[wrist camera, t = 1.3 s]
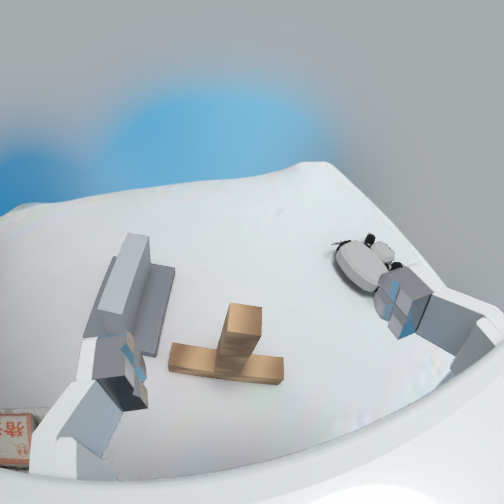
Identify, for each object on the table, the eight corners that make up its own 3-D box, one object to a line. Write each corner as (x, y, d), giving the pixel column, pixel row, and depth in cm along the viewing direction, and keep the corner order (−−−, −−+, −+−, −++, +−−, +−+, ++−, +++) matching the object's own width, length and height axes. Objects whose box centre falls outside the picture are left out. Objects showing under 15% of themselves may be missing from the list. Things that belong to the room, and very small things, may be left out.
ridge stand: (85, 340, 33) (67, 309, 28) (114, 261, 43) (107, 223, 37) (155, 357, 35) (150, 329, 29) (174, 272, 44) (176, 235, 39)
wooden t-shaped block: (169, 371, 34) (164, 320, 24) (172, 350, 36) (171, 292, 26) (277, 384, 36) (319, 341, 26) (277, 364, 38) (316, 314, 28)
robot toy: (362, 239, 62) (319, 258, 53) (373, 224, 59) (330, 240, 50) (401, 280, 56) (365, 308, 47) (413, 265, 53) (379, 292, 44)
